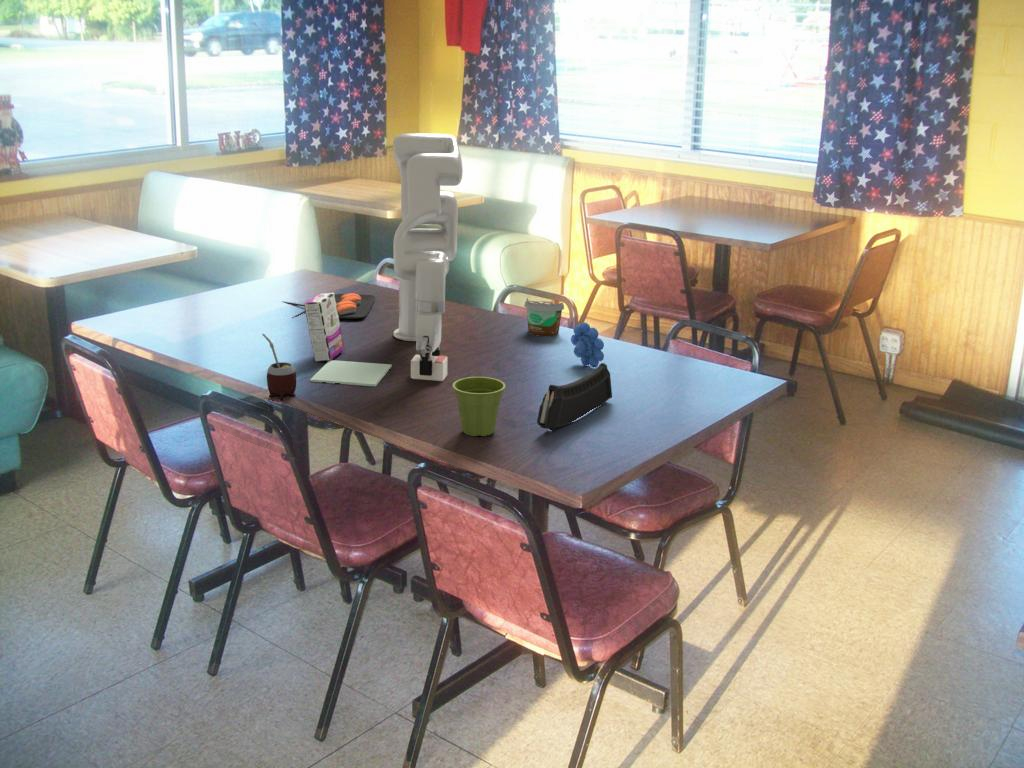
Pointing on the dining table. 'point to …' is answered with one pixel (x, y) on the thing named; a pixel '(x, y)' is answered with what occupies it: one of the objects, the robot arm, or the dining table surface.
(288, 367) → the mate gourd
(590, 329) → the grapes
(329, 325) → the candy bar box
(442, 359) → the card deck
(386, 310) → the dining table surface
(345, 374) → the mat
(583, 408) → the magazine
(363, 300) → the sushi plate
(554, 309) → the food container
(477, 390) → the plant pot
